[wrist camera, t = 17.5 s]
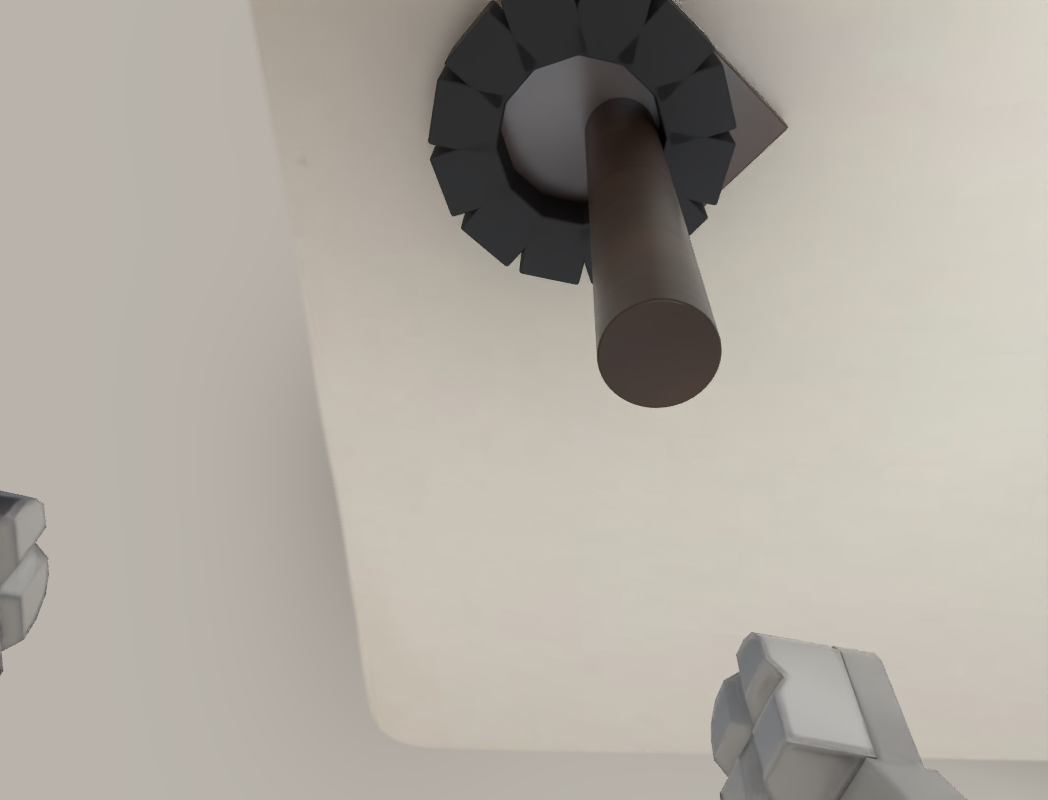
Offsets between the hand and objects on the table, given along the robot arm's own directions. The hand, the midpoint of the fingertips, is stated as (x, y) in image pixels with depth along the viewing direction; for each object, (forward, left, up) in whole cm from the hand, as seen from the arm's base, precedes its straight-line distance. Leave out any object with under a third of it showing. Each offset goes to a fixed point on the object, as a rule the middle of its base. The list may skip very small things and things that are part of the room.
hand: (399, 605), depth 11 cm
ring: (+2, +1, -24) cm, 24 cm away
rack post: (+3, +2, -25) cm, 25 cm away
